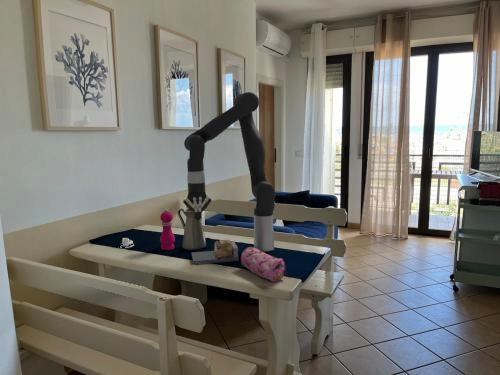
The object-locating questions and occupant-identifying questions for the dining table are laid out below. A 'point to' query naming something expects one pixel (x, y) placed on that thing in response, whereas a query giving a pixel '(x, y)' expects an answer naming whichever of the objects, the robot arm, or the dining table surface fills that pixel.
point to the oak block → (226, 247)
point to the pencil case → (263, 264)
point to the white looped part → (126, 242)
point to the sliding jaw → (218, 250)
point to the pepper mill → (167, 231)
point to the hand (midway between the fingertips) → (198, 219)
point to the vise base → (214, 256)
